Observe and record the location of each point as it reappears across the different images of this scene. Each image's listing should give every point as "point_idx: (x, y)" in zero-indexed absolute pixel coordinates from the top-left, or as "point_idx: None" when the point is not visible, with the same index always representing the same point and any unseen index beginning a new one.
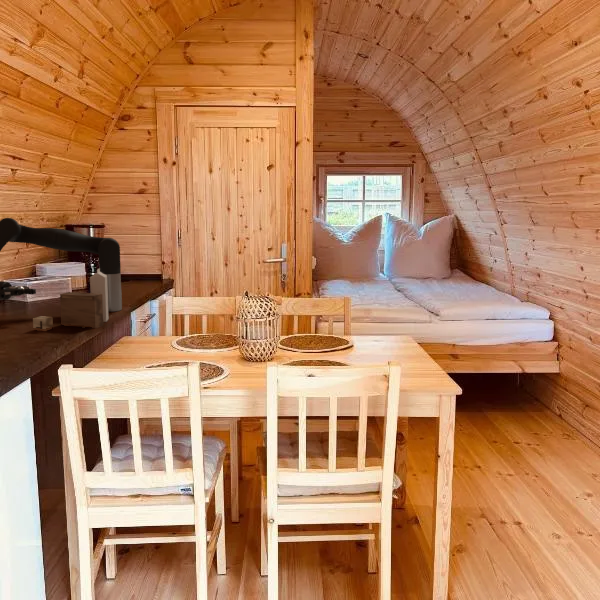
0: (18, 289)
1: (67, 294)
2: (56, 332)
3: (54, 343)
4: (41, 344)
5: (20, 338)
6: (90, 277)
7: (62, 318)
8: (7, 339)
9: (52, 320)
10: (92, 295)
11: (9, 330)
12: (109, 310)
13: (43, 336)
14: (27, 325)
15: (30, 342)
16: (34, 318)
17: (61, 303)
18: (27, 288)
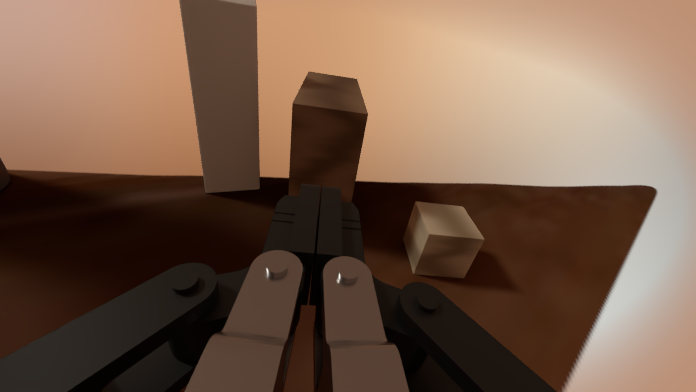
0: (446, 306)
1: (362, 103)
2: None
3: (511, 190)
4: (539, 203)
5: (558, 262)
6: (256, 7)
7: None
8: (603, 288)
9: (412, 212)
10: (349, 80)
11: None
12: (2, 182)
13: (490, 225)
14: None
15: (552, 225)
16: (480, 234)
17: (359, 154)
18: (293, 249)
